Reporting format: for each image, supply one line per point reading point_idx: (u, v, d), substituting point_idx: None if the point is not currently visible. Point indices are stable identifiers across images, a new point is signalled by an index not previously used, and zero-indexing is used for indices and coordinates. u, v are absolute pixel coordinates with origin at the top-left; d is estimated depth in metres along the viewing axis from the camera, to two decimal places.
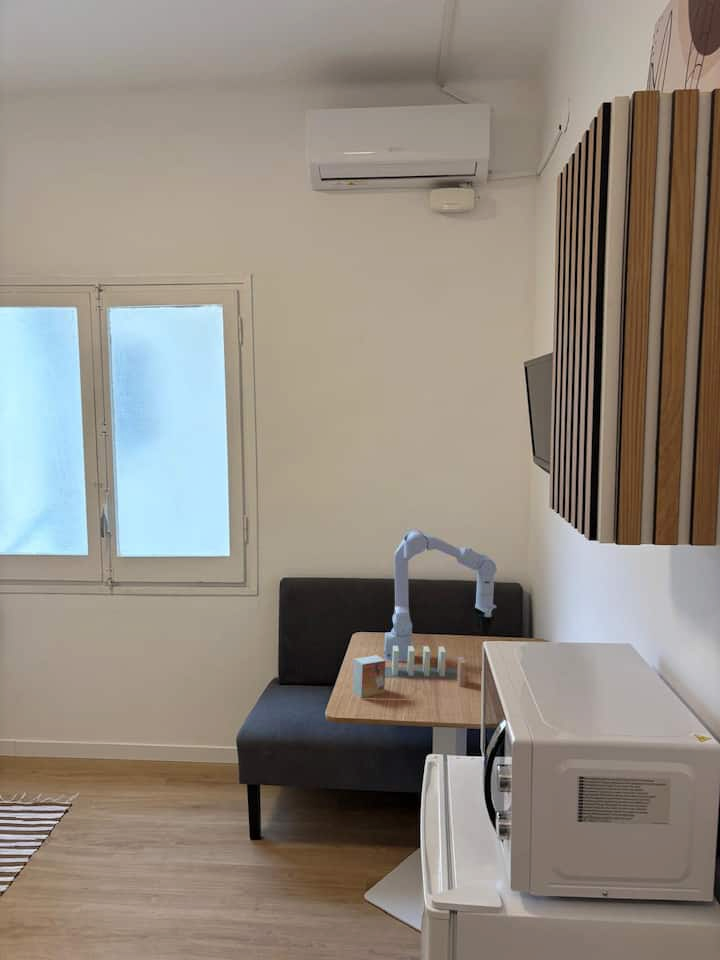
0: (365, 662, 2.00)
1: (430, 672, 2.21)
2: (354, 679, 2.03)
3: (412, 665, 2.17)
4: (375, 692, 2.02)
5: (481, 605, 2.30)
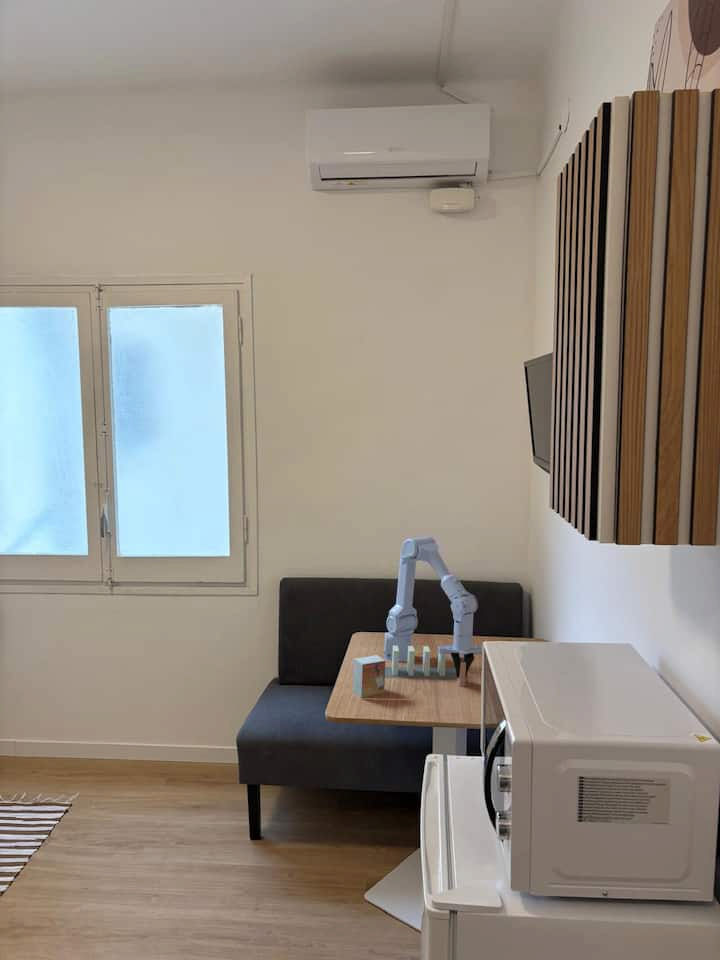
0: (365, 662, 2.00)
1: (430, 672, 2.21)
2: (354, 679, 2.03)
3: (412, 665, 2.17)
4: (375, 692, 2.02)
5: None
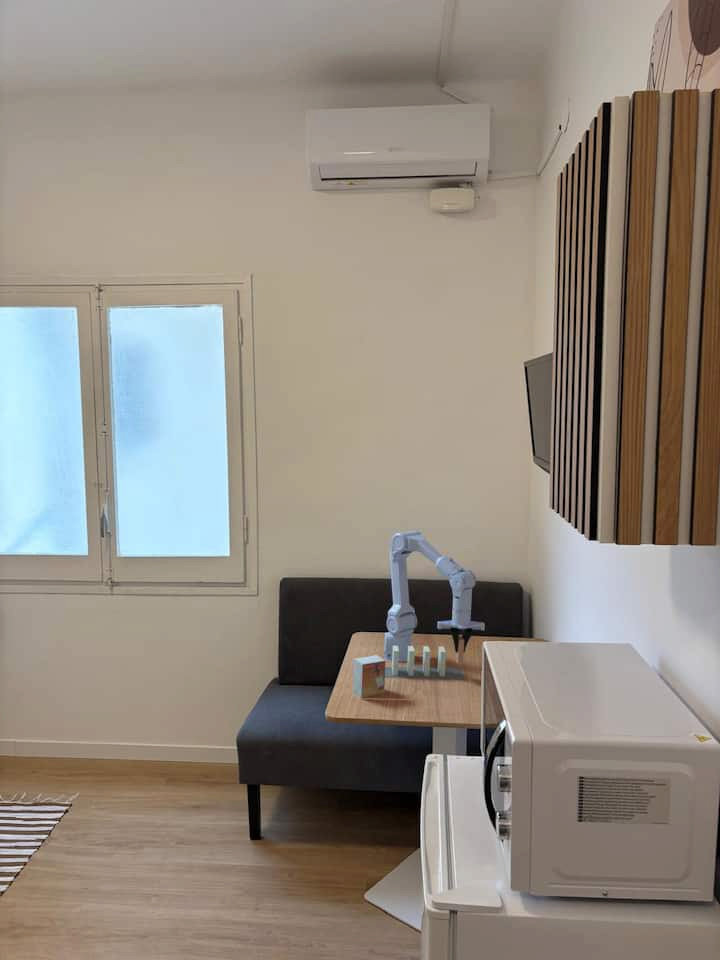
0: (365, 662, 2.00)
1: (430, 672, 2.21)
2: (354, 679, 2.03)
3: (412, 665, 2.17)
4: (375, 692, 2.02)
5: None
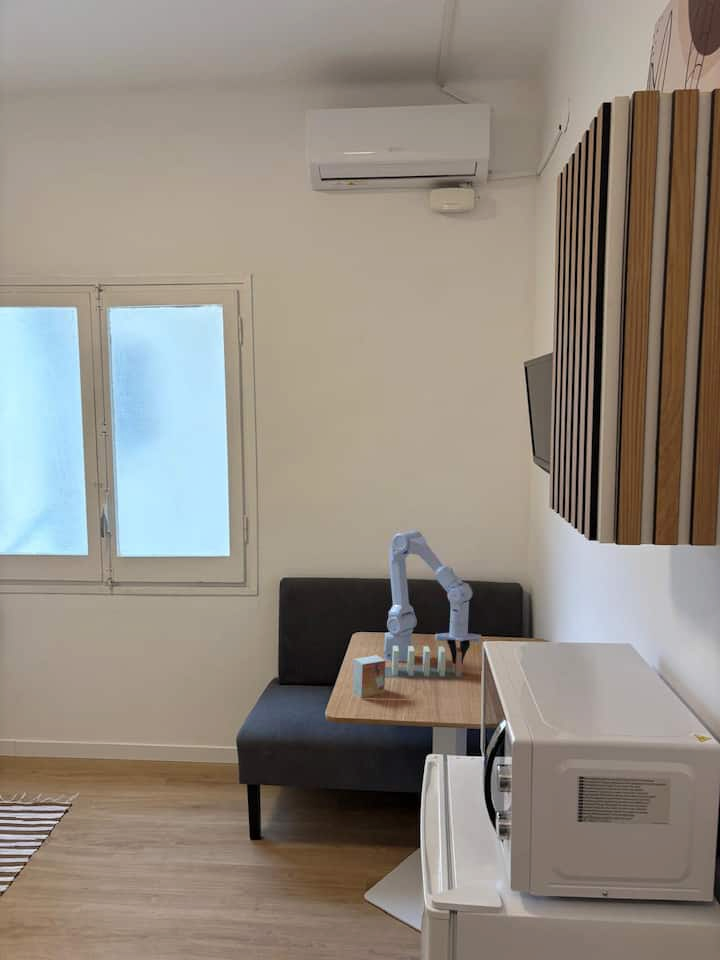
0: (365, 662, 2.00)
1: (430, 672, 2.21)
2: (354, 679, 2.03)
3: (412, 665, 2.17)
4: (375, 692, 2.02)
5: None
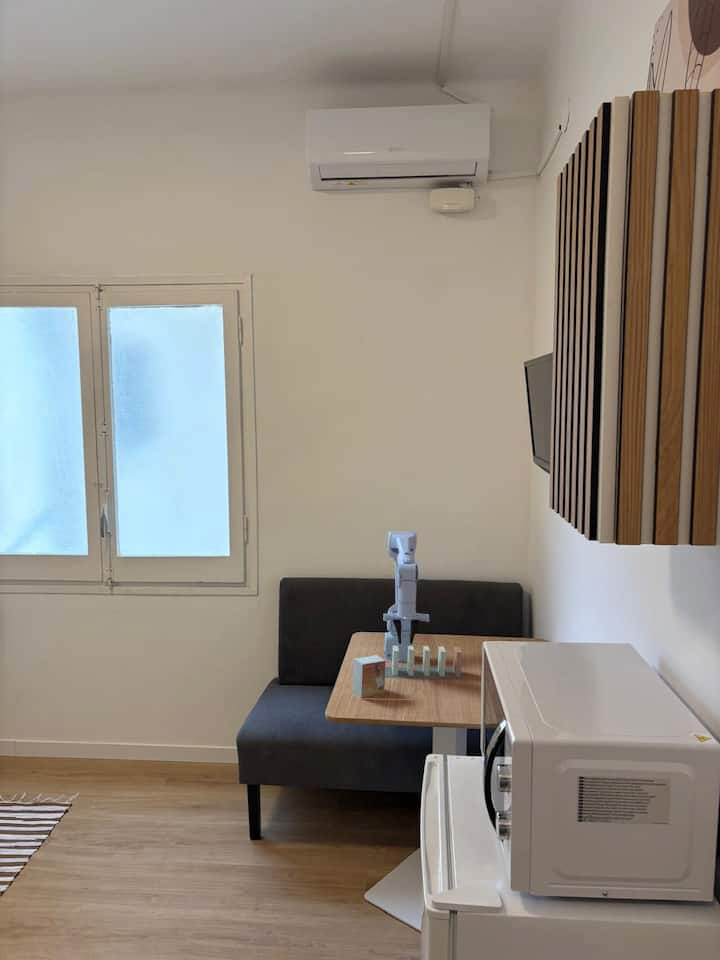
0: (365, 662, 2.00)
1: (430, 672, 2.21)
2: (354, 679, 2.03)
3: (412, 665, 2.17)
4: (375, 692, 2.02)
5: None
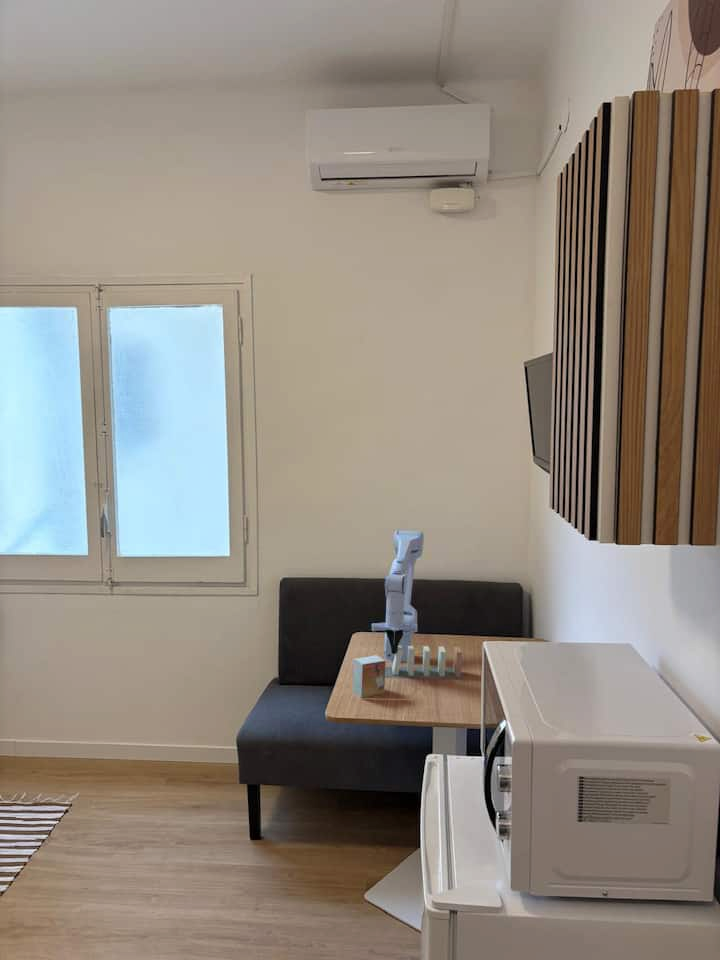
0: (365, 662, 2.00)
1: (430, 672, 2.21)
2: (354, 679, 2.03)
3: (412, 665, 2.17)
4: (375, 692, 2.02)
5: None
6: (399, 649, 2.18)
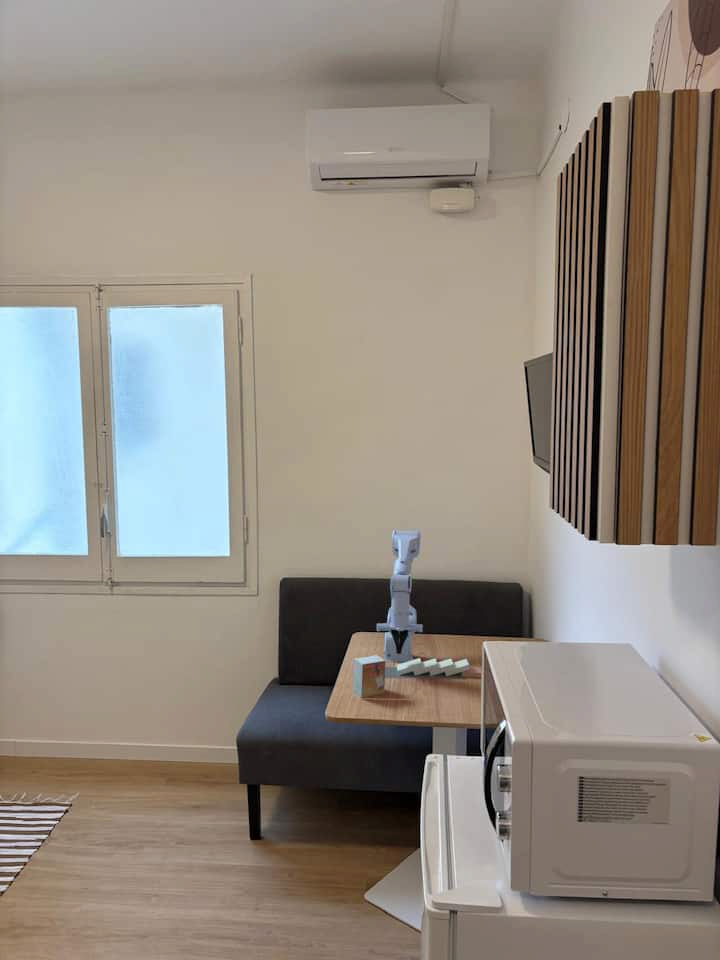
0: (365, 662, 2.00)
1: None
2: (354, 679, 2.03)
3: (424, 671, 2.17)
4: (375, 692, 2.02)
5: None
6: (421, 663, 2.19)
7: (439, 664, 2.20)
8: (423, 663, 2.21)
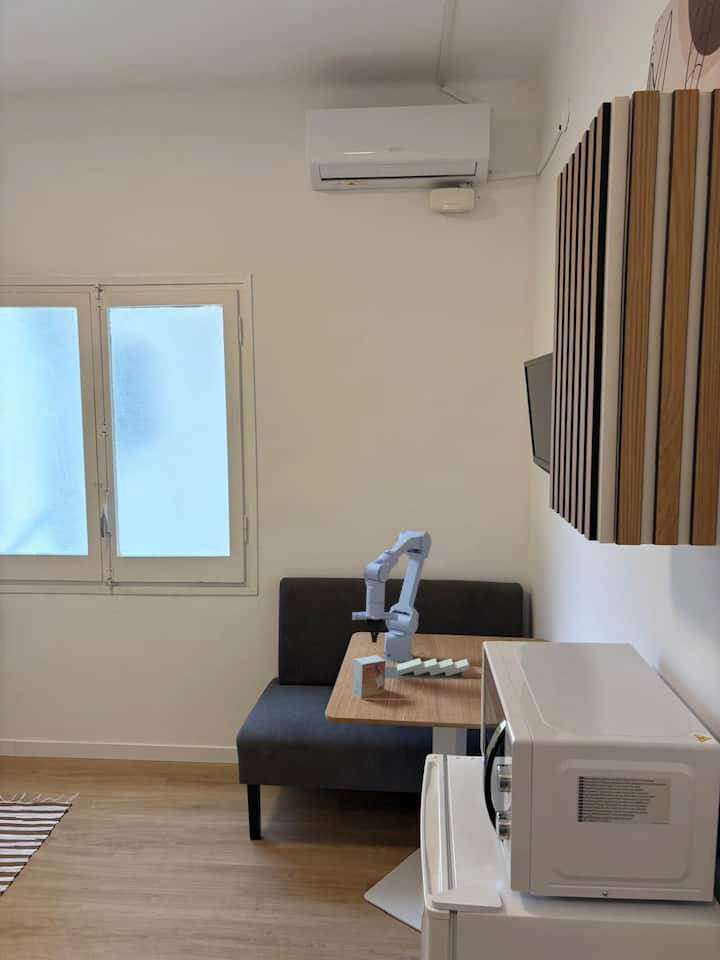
0: (365, 662, 2.00)
1: None
2: (354, 679, 2.03)
3: (424, 671, 2.17)
4: (375, 692, 2.02)
5: None
6: (421, 663, 2.19)
7: (439, 664, 2.20)
8: (423, 663, 2.21)
